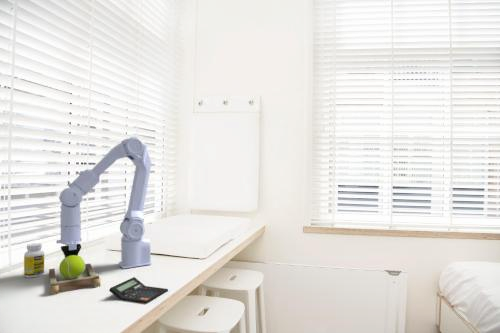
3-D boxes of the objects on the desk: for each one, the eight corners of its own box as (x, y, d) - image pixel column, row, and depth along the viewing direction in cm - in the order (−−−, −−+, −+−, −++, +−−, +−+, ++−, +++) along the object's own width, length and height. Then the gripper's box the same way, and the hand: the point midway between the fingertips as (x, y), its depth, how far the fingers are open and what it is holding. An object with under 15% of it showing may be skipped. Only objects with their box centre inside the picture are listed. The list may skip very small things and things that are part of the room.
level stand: (90, 267, 117) (90, 260, 117) (100, 286, 98) (100, 277, 98) (48, 274, 110) (48, 266, 110) (50, 295, 92) (50, 286, 92)
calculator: (146, 305, 86) (146, 293, 86) (109, 299, 90) (109, 287, 90) (168, 292, 94) (167, 281, 94) (133, 287, 98) (133, 276, 98)
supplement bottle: (34, 278, 106) (34, 246, 106) (19, 277, 107) (19, 246, 107) (48, 273, 111) (48, 242, 111) (34, 272, 112) (33, 242, 112)
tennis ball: (77, 273, 111) (77, 251, 111) (89, 277, 107) (89, 254, 107) (54, 279, 105) (54, 256, 105) (66, 283, 101) (66, 259, 101)
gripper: (55, 223, 114) (55, 264, 114) (57, 230, 102) (57, 276, 102) (79, 221, 118) (79, 261, 118) (83, 227, 105) (84, 272, 105)
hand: (71, 268), depth 110 cm, fingers closed
